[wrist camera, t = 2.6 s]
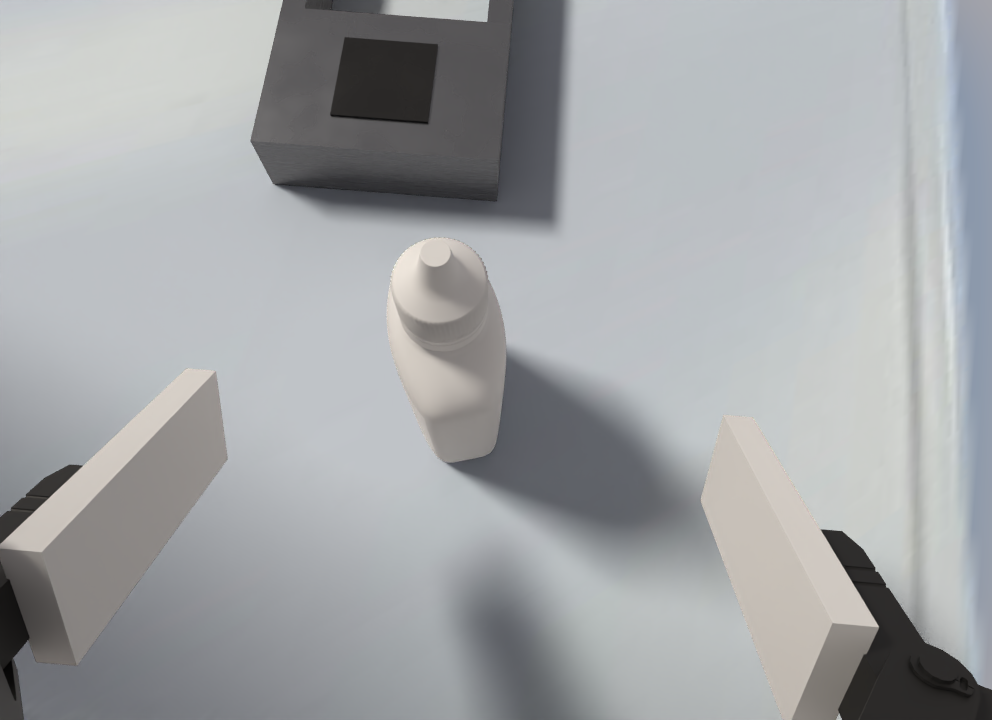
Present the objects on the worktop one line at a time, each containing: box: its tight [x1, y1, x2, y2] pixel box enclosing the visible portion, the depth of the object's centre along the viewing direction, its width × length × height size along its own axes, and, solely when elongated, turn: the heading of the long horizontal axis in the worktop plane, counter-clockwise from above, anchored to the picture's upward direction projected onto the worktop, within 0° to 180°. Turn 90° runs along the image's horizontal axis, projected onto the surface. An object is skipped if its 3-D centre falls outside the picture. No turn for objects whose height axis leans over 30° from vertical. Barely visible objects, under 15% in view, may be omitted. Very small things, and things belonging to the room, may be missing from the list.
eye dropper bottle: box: [387, 237, 506, 463], centre depth 20 cm, size 4×6×12 cm
